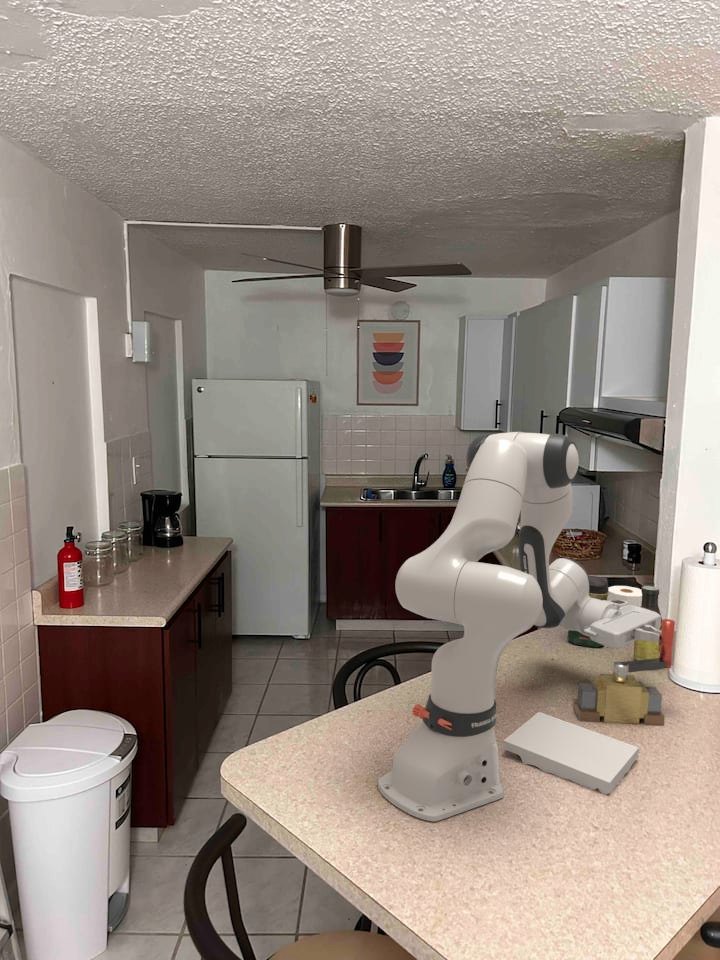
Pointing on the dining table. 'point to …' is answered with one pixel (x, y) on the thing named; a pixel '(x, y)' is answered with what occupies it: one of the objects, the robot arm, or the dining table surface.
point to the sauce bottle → (651, 648)
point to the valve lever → (649, 664)
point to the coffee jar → (598, 592)
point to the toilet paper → (625, 595)
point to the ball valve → (618, 701)
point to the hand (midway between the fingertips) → (661, 637)
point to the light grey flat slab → (572, 752)
